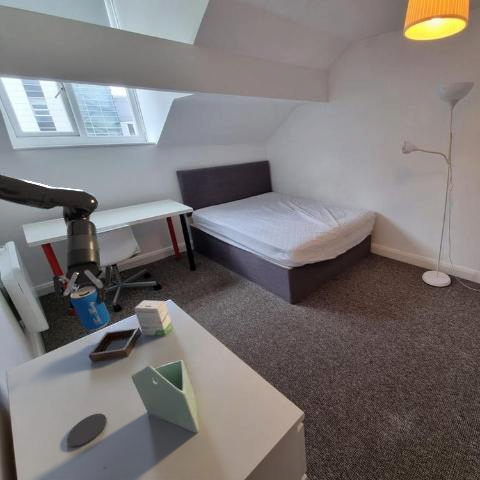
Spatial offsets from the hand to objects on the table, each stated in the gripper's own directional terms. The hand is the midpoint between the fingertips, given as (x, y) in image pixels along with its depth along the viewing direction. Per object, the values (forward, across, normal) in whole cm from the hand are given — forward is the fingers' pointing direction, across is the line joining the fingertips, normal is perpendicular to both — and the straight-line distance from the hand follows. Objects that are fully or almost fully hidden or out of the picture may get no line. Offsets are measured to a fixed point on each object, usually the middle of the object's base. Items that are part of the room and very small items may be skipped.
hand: (86, 305), depth 77 cm
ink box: (+9, +12, +22) cm, 27 cm away
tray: (+11, 0, +20) cm, 23 cm away
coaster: (+32, -1, -1) cm, 32 cm away
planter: (+35, +21, -4) cm, 41 cm away
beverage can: (+5, 0, +7) cm, 9 cm away
